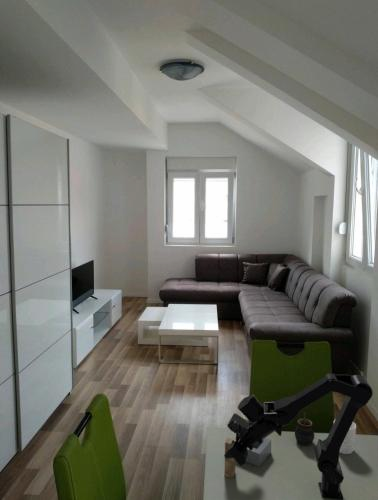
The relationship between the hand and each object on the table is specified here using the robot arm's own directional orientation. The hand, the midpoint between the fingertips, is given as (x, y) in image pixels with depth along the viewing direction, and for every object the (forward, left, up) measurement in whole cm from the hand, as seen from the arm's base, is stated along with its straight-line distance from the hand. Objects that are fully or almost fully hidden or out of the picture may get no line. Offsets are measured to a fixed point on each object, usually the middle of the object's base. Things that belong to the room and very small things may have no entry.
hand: (226, 453), depth 134 cm
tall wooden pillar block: (0, -1, -7) cm, 7 cm away
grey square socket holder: (+12, -9, -7) cm, 17 cm away
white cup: (+20, -43, -7) cm, 48 cm away
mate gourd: (+23, -29, -7) cm, 38 cm away
